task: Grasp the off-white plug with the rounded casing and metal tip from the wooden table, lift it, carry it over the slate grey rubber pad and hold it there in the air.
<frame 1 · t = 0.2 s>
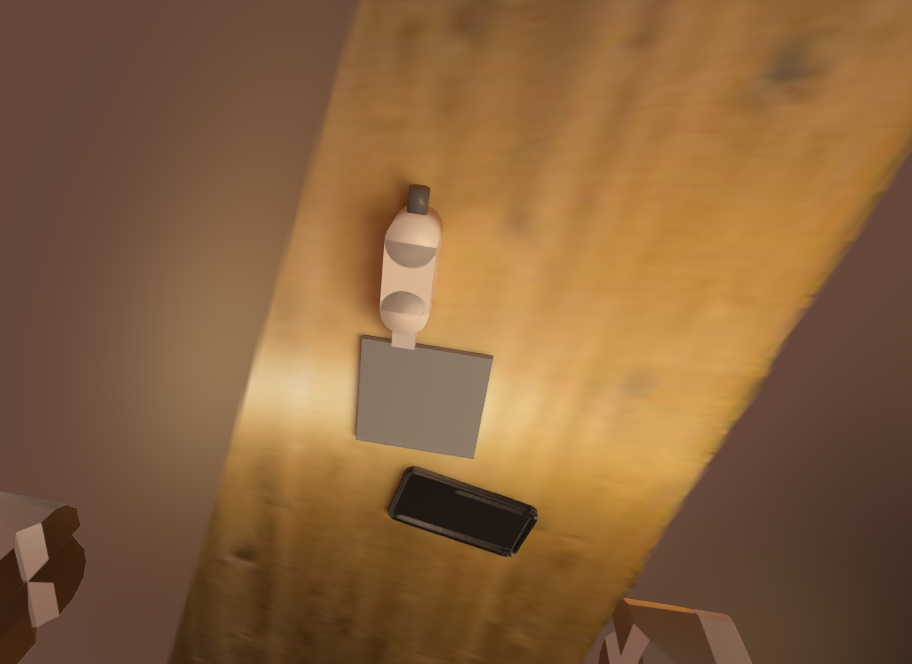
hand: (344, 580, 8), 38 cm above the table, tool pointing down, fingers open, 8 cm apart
phone: (463, 506, 62), on the table
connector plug: (415, 260, 47), on the table
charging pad: (421, 398, 54), on the table
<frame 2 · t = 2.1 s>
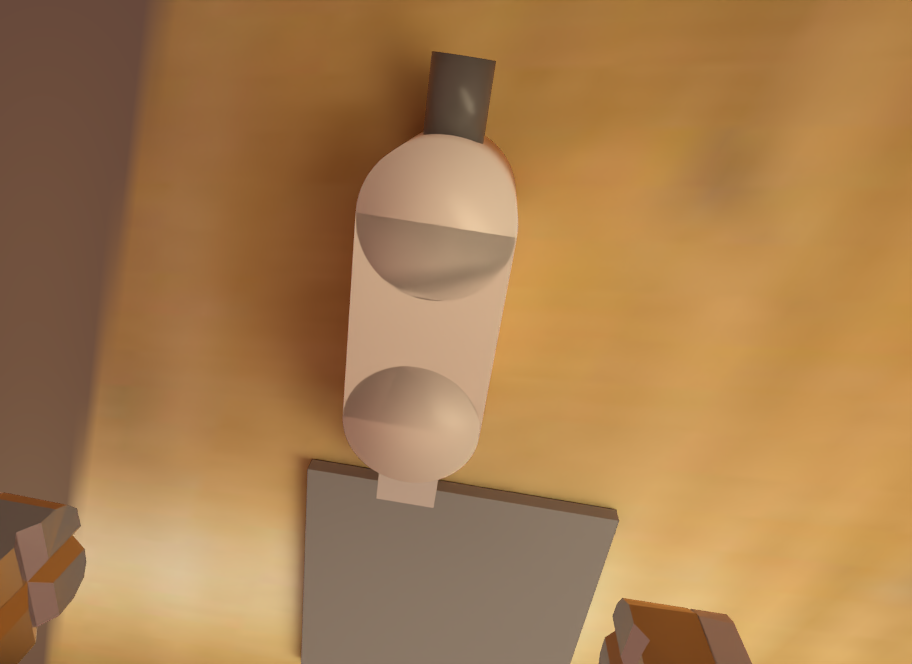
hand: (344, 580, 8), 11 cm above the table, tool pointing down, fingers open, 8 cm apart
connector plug: (438, 284, 19), on the table
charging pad: (443, 592, 24), on the table
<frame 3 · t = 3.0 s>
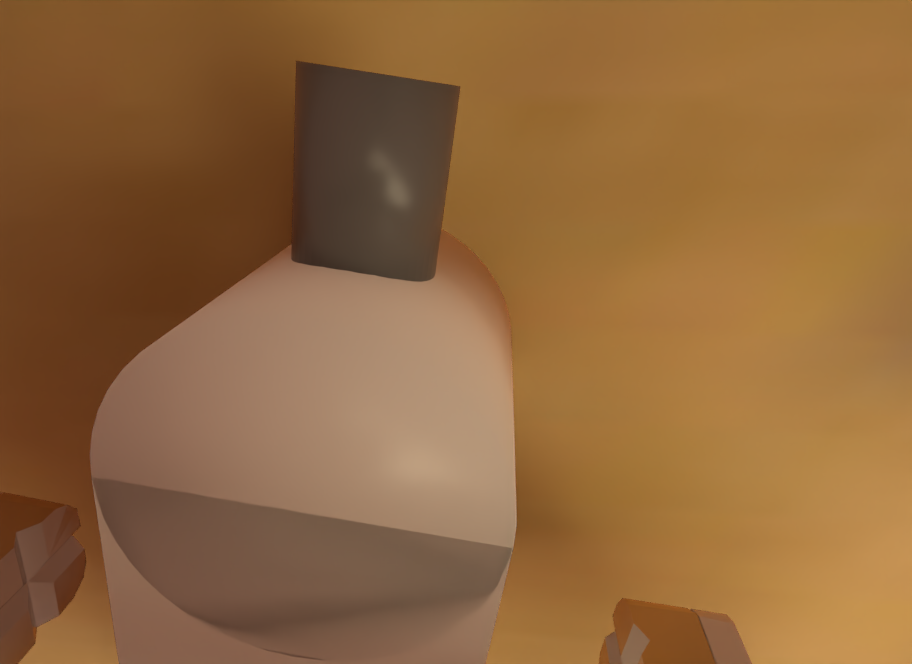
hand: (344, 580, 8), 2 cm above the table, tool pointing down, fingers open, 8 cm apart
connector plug: (369, 489, 10), on the table
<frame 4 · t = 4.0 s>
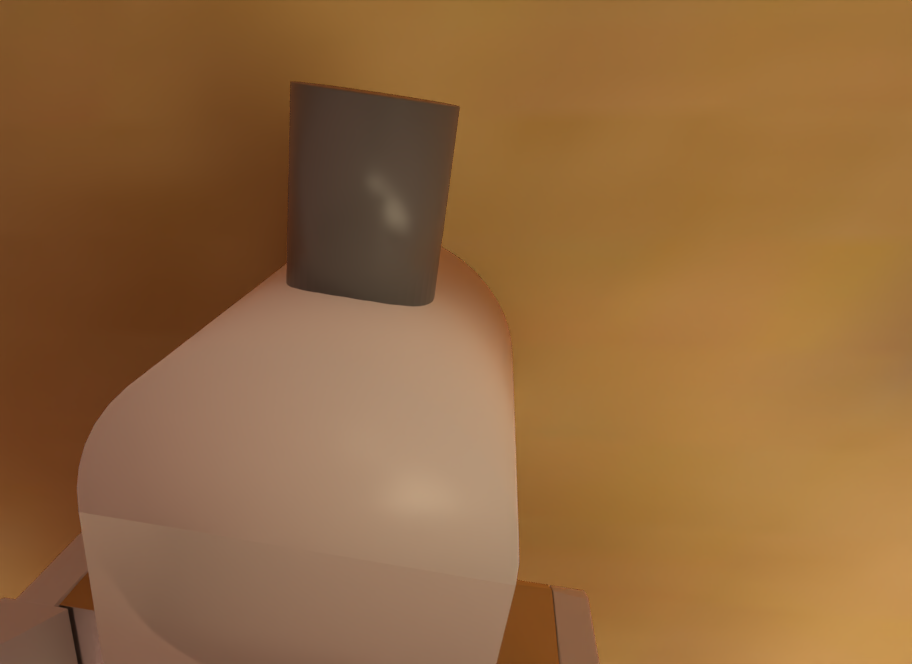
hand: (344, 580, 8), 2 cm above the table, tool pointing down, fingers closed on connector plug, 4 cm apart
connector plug: (368, 508, 10), on the table, touching gripper
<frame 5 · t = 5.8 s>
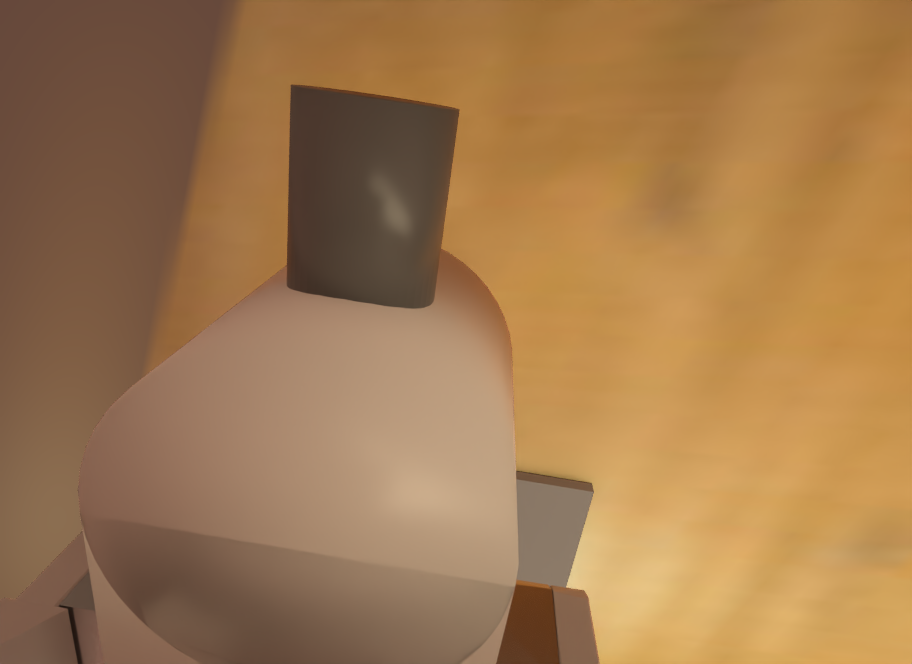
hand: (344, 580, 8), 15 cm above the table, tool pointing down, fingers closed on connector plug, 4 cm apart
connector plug: (368, 509, 10), point 13 cm above the table, touching gripper
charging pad: (443, 561, 28), on the table
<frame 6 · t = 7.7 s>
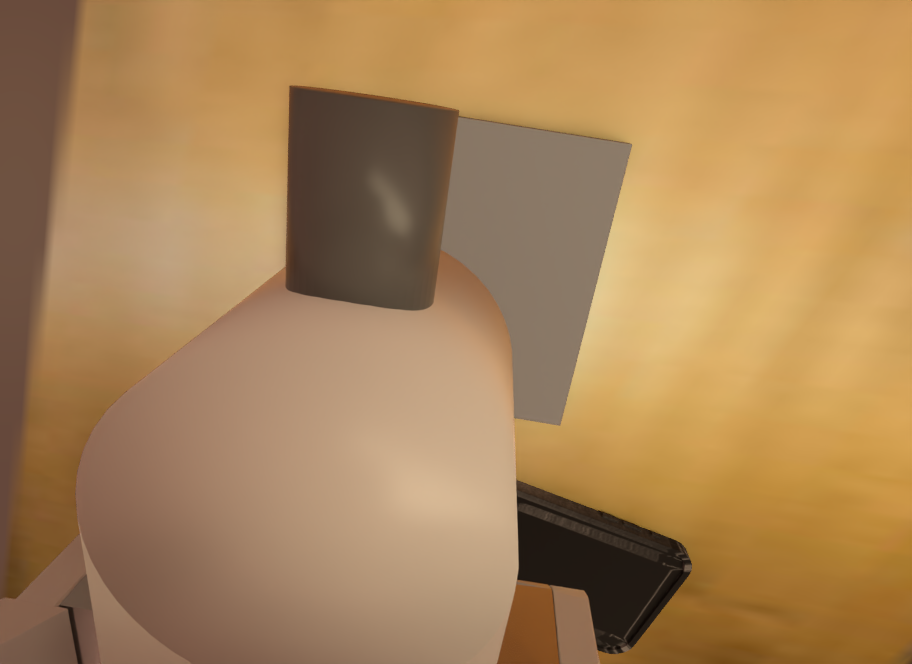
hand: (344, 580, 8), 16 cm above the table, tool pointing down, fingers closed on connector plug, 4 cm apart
phone: (524, 542, 29), on the table
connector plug: (367, 511, 10), point 14 cm above the table, touching gripper
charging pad: (446, 271, 23), on the table
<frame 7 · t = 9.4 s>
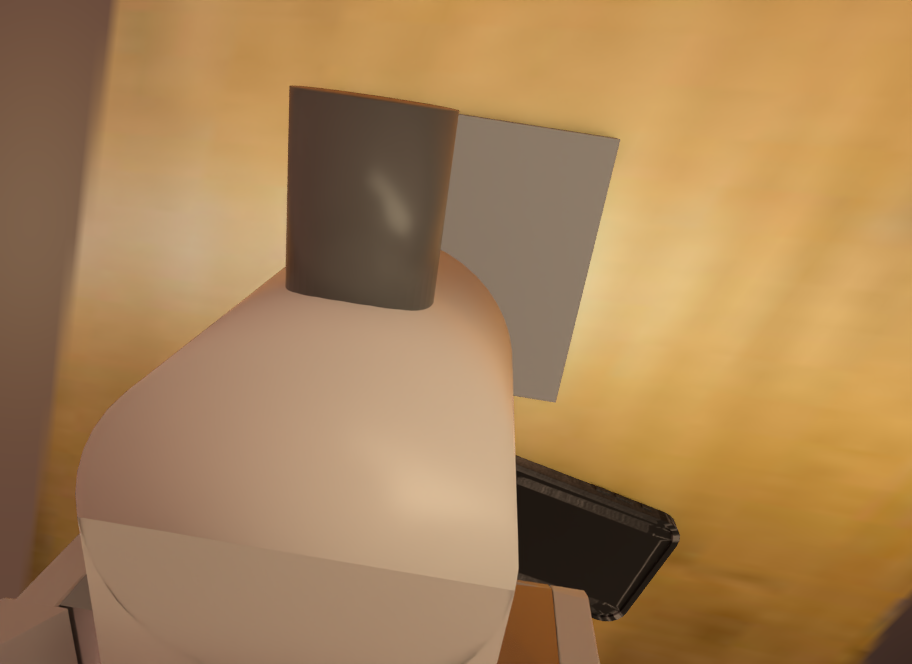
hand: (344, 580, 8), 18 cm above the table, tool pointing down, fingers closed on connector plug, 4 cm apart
phone: (523, 515, 31), on the table
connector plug: (367, 511, 10), point 16 cm above the table, touching gripper
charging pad: (449, 258, 25), on the table
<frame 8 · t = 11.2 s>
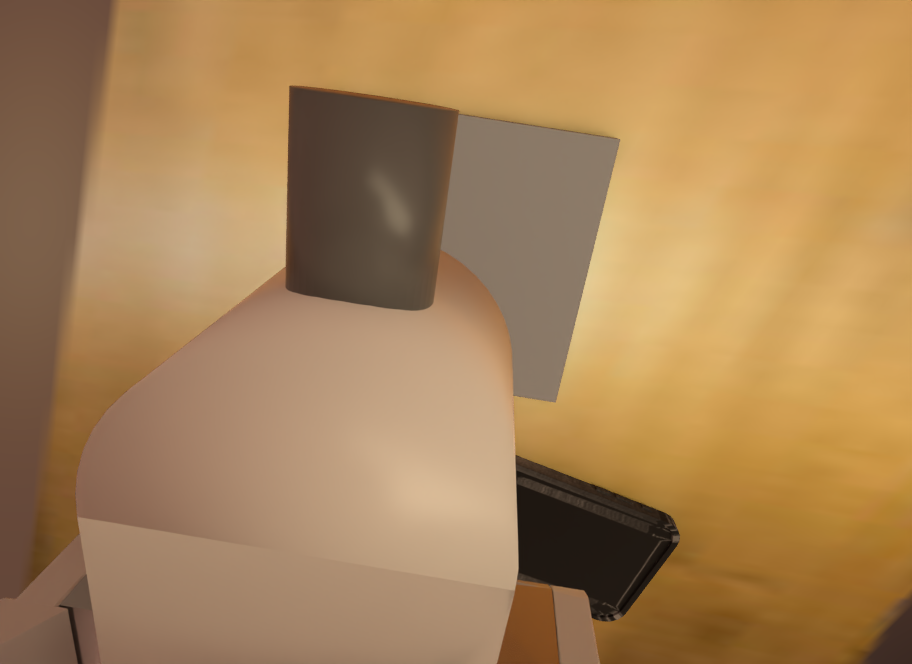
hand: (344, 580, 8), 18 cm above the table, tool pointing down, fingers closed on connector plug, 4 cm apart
phone: (523, 515, 31), on the table
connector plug: (367, 511, 10), point 16 cm above the table, touching gripper
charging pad: (449, 258, 25), on the table
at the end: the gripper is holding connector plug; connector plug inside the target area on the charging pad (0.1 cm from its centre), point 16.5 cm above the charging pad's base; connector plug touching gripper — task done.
